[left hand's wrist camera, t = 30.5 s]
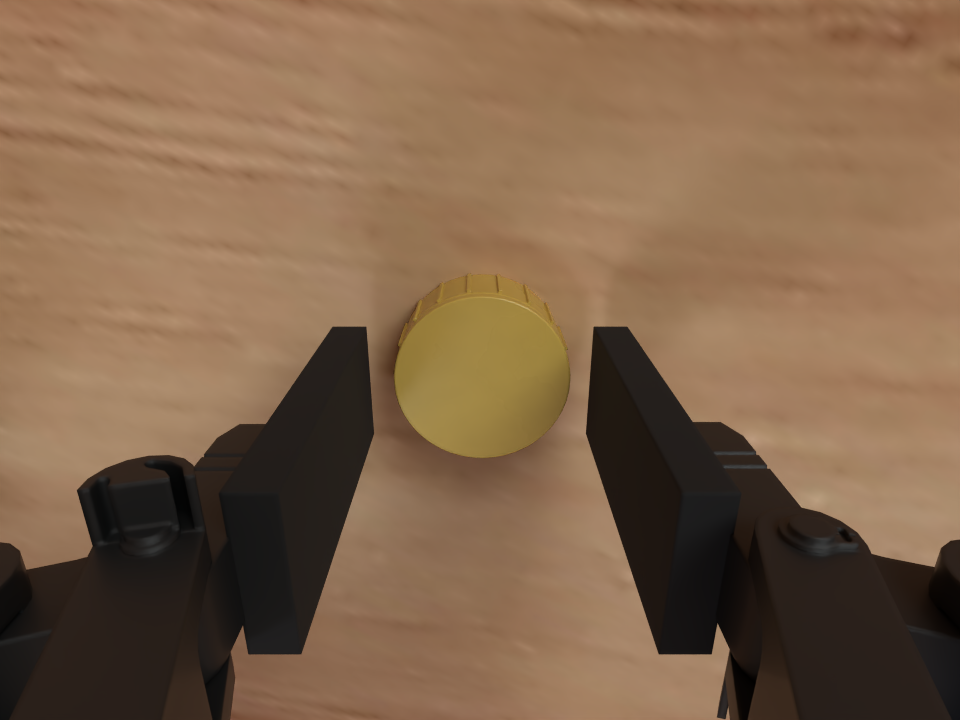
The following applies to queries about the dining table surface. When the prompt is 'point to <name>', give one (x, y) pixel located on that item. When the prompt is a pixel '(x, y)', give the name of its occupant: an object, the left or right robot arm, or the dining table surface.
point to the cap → (481, 367)
